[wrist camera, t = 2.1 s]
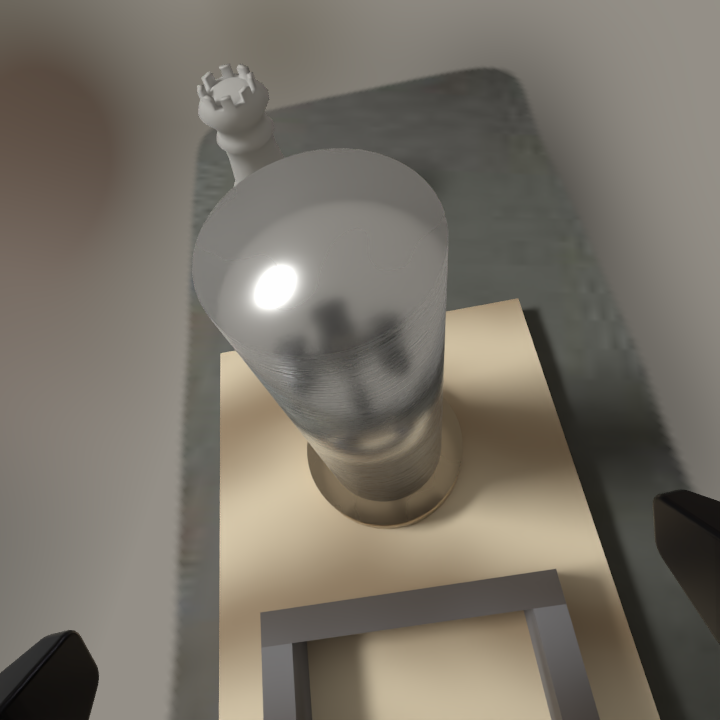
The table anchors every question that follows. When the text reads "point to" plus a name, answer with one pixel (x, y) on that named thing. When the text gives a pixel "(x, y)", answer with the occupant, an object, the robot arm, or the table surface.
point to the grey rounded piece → (343, 322)
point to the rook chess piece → (239, 119)
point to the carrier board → (422, 565)
